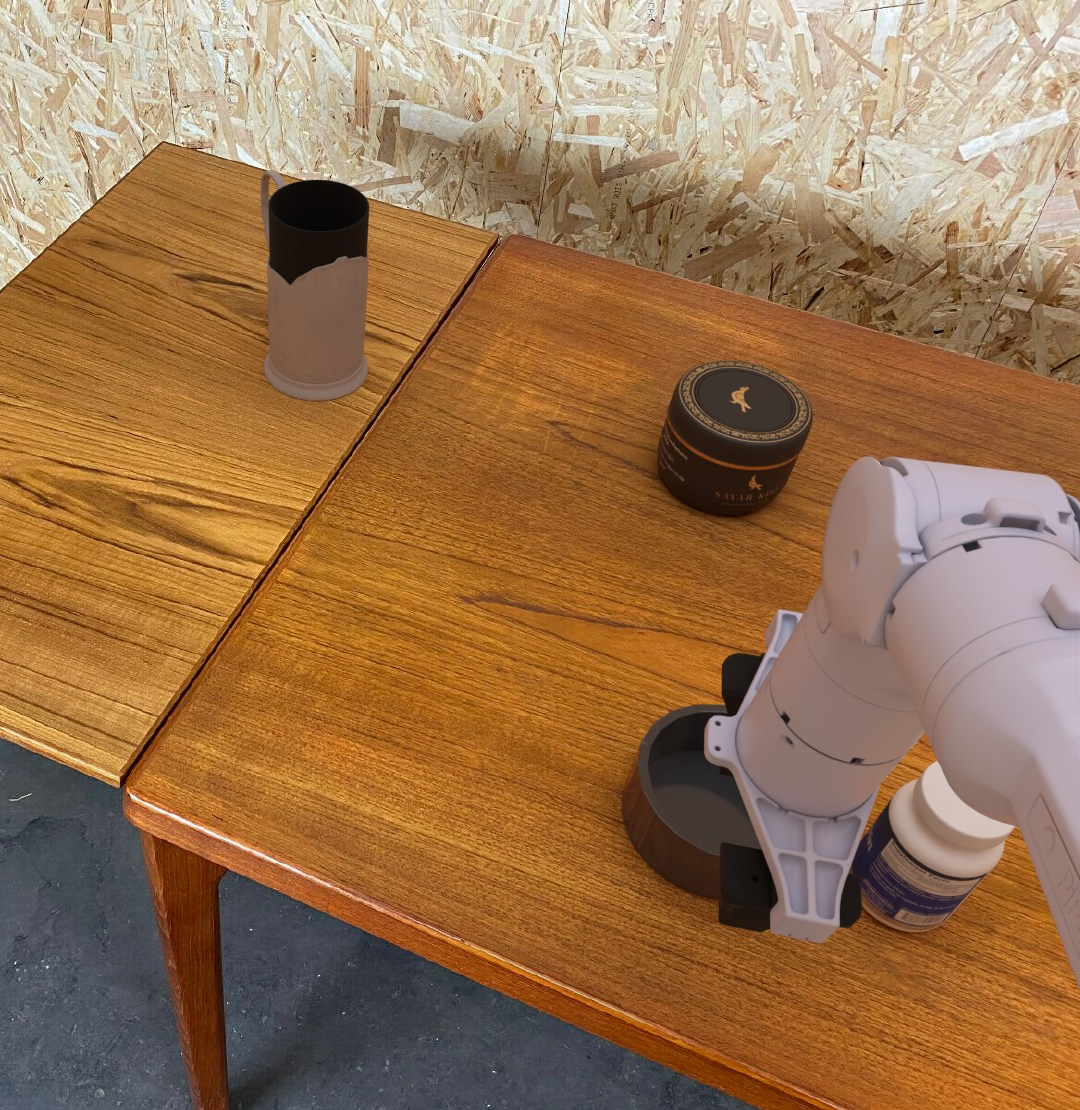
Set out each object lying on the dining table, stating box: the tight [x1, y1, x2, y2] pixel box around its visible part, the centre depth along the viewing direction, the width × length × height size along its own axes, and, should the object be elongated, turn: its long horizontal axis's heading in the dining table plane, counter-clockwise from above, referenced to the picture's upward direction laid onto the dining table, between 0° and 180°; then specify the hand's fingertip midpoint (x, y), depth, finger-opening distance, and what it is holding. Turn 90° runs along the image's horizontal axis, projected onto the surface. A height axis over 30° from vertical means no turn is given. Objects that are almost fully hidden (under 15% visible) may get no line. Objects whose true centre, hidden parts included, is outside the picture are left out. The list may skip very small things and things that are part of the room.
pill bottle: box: [848, 760, 1016, 933], centre depth 61 cm, size 6×6×10 cm
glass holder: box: [259, 169, 370, 402], centre depth 92 cm, size 9×14×15 cm, turn 28°
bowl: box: [621, 703, 762, 900], centre depth 66 cm, size 10×10×4 cm
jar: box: [656, 359, 814, 516], centre depth 85 cm, size 10×10×8 cm
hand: (740, 843), depth 55 cm, fingers open, 7 cm apart
